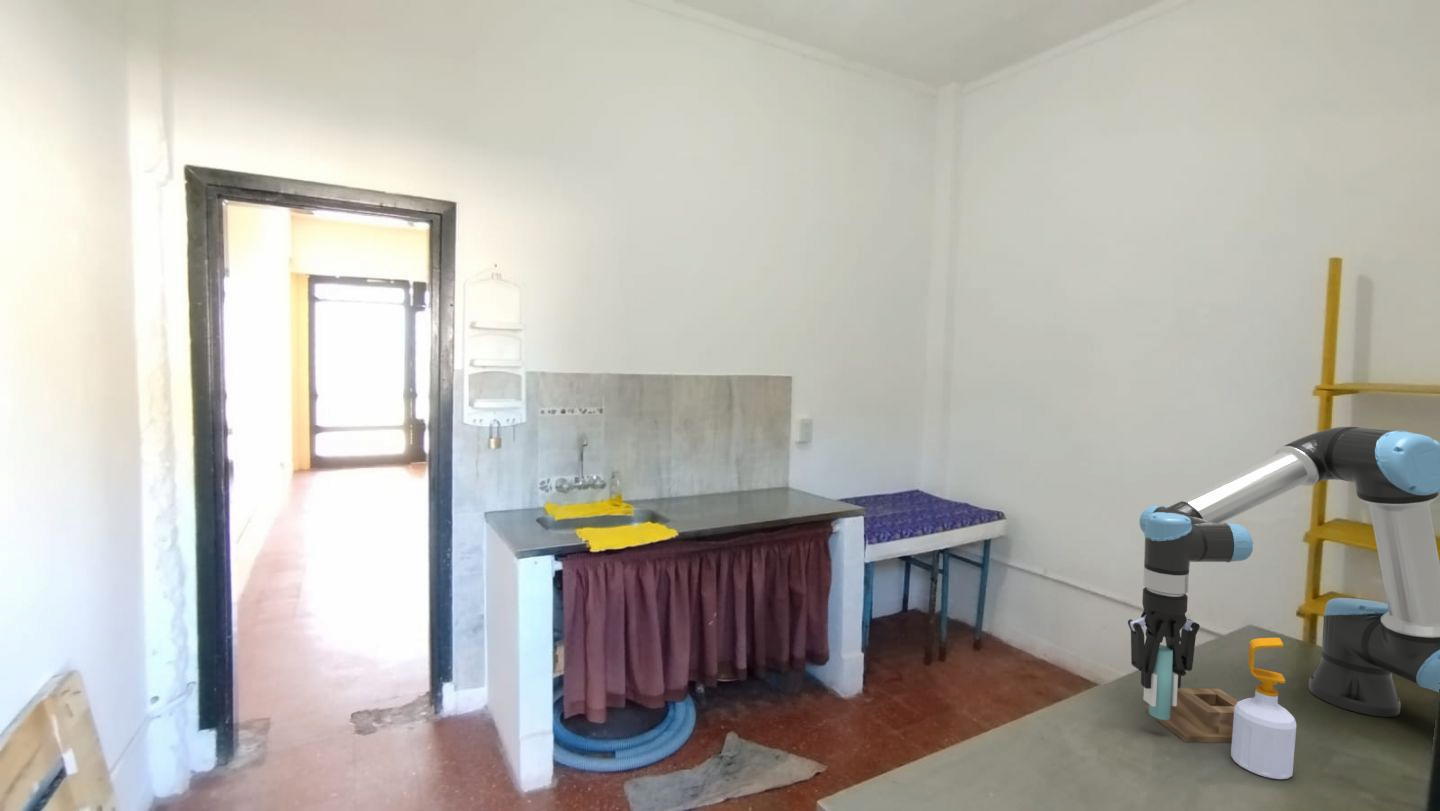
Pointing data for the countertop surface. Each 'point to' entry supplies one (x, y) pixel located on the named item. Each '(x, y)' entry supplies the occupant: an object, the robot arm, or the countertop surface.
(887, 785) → the countertop surface
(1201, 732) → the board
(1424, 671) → the robot arm
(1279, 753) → the soap bottle
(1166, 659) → the peg
